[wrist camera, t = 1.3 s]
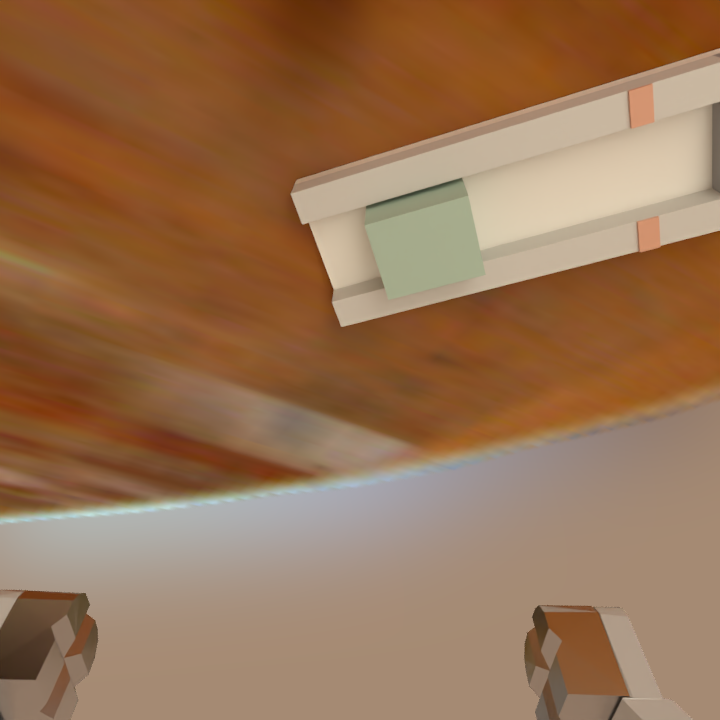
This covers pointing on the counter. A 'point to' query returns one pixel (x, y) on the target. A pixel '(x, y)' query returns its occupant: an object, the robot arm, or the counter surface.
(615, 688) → the robot arm
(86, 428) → the counter surface
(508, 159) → the chute
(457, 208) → the block
